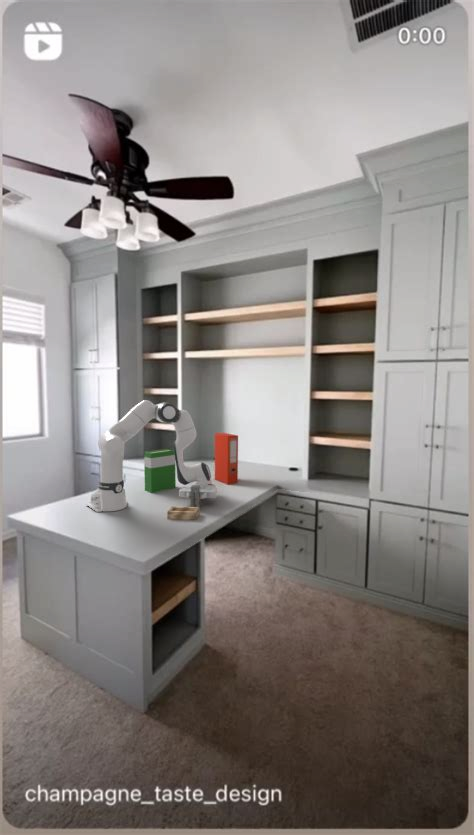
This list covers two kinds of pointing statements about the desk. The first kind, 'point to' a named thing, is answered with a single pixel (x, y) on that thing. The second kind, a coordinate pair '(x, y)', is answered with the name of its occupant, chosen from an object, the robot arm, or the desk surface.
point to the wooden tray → (183, 512)
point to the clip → (197, 489)
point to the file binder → (226, 458)
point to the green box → (159, 470)
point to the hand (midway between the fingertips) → (195, 497)
